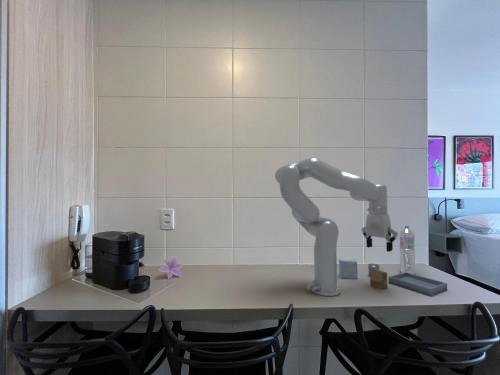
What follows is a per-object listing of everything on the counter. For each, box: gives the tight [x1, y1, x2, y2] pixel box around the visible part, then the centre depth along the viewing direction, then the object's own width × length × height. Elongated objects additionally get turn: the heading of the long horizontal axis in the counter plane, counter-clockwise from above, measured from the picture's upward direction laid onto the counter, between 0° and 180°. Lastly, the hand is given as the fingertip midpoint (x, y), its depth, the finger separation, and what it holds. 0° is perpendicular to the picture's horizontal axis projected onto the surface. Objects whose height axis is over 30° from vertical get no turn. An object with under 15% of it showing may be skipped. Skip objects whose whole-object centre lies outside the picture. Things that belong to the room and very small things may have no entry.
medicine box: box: [338, 258, 358, 280], centre depth 129 cm, size 8×4×9 cm, turn 84°
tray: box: [388, 272, 448, 297], centre depth 116 cm, size 14×18×3 cm
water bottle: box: [399, 225, 416, 275], centre depth 135 cm, size 7×7×25 cm
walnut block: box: [369, 269, 388, 291], centre depth 115 cm, size 5×5×7 cm
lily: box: [158, 254, 184, 280], centre depth 131 cm, size 12×12×10 cm
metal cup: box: [367, 263, 380, 278], centre depth 129 cm, size 5×5×6 cm
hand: (379, 249), depth 115 cm, fingers open, 9 cm apart
